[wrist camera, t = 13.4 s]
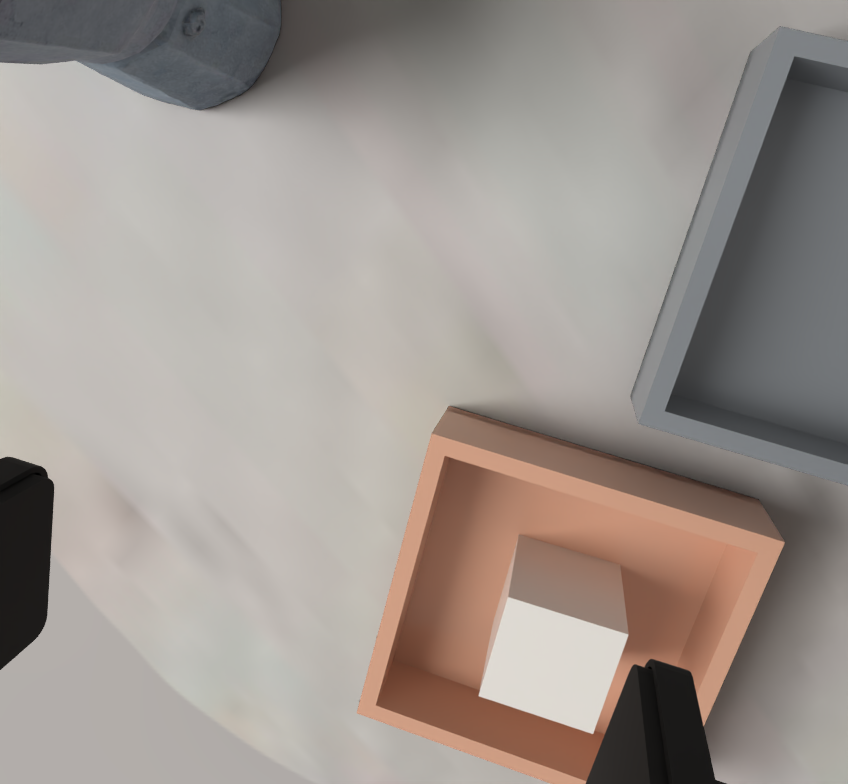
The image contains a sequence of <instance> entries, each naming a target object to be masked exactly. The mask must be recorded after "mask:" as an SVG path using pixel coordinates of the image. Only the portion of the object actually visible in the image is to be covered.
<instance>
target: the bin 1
mask: <svg viewBox="0 0 848 784" xmlns="http://www.w3.org/2000/svg"><path fill="white" fill-rule="evenodd" d="M519 535H523V536H526V537H529V538H533V539H536V540H539V541H543V542H546V543H549V544H553V545H556V546H559V547H563V548H566V549H569V550H573V551H576V552H579V553H583V554H586V555H589V556H593V557H596V558H599V559H603V560H606V561H609V562H613V563H616V564H619V565H620V567H621V576H622V584H623V592H624V600H625V608H626V617H627V625H628V633H629V635H628V638H627V641H626V644H625V646H624V649H623V652H622V655H621V658H620V660H619V663H618V666H617V669H616V671H615V674H614V677H613V680H612V683H611V685H610V688H609V691H608V694H607V696H606V699H605V702H604V705H603V708H602V710H601V713H600V716H599V719H598V722H597V724H596V727H595V730H594V733H593V734H591V733H588V732H585V731H582V730H579V729H576V728H573V727H570V726H567V725H564V724H561V723H558V722H555V721H552V720H549V719H546V718H543V717H540V716H537V715H534V714H531V713H528V712H525V711H522V710H519V709H516V708H513V707H510V706H507V705H504V704H501V703H498V702H495V701H492V700H489V699H486V698H483V697H480V696H479V691H480V686H481V681H482V676H483V671H484V666H485V661H486V656H487V651H488V646H489V641H490V635H491V630H492V625H493V620H494V617H495V614H496V610H497V607H498V604H499V600H500V597H501V593H502V590H503V587H504V583H505V580H506V576H507V573H508V570H509V566H510V563H511V559H512V556H513V553H514V549H515V546H516V542H517V539H518V536H519ZM784 544H785V541H784V540H783V538H782V536H781V535H780V533H779V532H778V530H777V528H776V527H775V525H774V523H773V522H772V520H771V519H770V517H769V515H768V514H767V512H766V510H765V509H764V507H763V506H762V504H761V502H760V501H759V499H755V498H752V497H749V496H745V495H742V494H739V493H736V492H732V491H729V490H726V489H722V488H719V487H716V486H712V485H709V484H706V483H702V482H699V481H696V480H693V479H689V478H686V477H683V476H679V475H676V474H673V473H669V472H666V471H663V470H659V469H656V468H653V467H649V466H646V465H643V464H640V463H636V462H633V461H630V460H626V459H623V458H620V457H616V456H613V455H610V454H606V453H603V452H600V451H597V450H593V449H590V448H587V447H583V446H580V445H577V444H573V443H570V442H567V441H563V440H560V439H557V438H553V437H550V436H547V435H544V434H540V433H537V432H534V431H530V430H527V429H524V428H520V427H517V426H514V425H510V424H507V423H504V422H501V421H497V420H494V419H491V418H487V417H484V416H481V415H477V414H474V413H471V412H467V411H464V410H461V409H457V408H454V407H451V406H449V407H448V408H447V410H446V411H445V413H444V415H443V416H442V418H441V419H440V421H439V423H438V424H437V426H436V427H435V429H434V431H433V432H432V434H431V438H430V442H429V445H428V449H427V453H426V456H425V460H424V464H423V468H422V471H421V475H420V479H419V483H418V486H417V490H416V494H415V497H414V501H413V505H412V509H411V512H410V516H409V520H408V524H407V527H406V531H405V535H404V538H403V542H402V546H401V550H400V553H399V557H398V561H397V565H396V568H395V572H394V576H393V579H392V583H391V587H390V591H389V594H388V598H387V602H386V606H385V609H384V613H383V617H382V620H381V624H380V628H379V632H378V635H377V639H376V643H375V647H374V650H373V654H372V658H371V661H370V665H369V669H368V673H367V676H366V680H365V684H364V688H363V691H362V695H361V699H360V702H359V706H358V710H357V713H358V714H361V715H363V716H366V717H369V718H372V719H374V720H377V721H380V722H383V723H385V724H388V725H391V726H394V727H396V728H399V729H402V730H405V731H407V732H410V733H413V734H416V735H419V736H421V737H424V738H427V739H430V740H432V741H435V742H438V743H441V744H443V745H446V746H449V747H452V748H454V749H457V750H460V751H463V752H465V753H468V754H471V755H474V756H476V757H479V758H482V759H485V760H487V761H490V762H493V763H496V764H499V765H501V766H504V767H507V768H510V769H512V770H515V771H518V772H521V773H523V774H526V775H529V776H532V777H534V778H537V779H540V780H543V781H545V782H548V783H551V784H586V781H587V779H588V776H589V774H590V771H591V768H592V766H593V763H594V761H595V758H596V756H597V753H598V750H599V748H600V745H601V743H602V740H603V738H604V735H605V733H606V730H607V727H608V725H609V722H610V720H611V717H612V715H613V712H614V710H615V707H616V704H617V702H618V699H619V697H620V694H621V692H622V689H623V686H624V684H625V681H626V679H627V676H628V674H629V671H630V669H631V667H632V666H633V665H634V664H636V665H639V666H642V667H645V665H646V663H647V662H648V660H650V659H654V660H657V661H661V662H664V663H667V664H670V665H673V666H677V667H680V668H683V669H686V670H689V671H690V672H691V674H692V676H693V680H694V685H695V689H696V694H697V699H698V703H699V708H700V712H701V717H702V722H703V726H704V725H705V722H706V720H707V718H708V716H709V713H710V711H711V709H712V706H713V704H714V702H715V700H716V697H717V695H718V693H719V691H720V688H721V686H722V684H723V682H724V679H725V677H726V675H727V673H728V670H729V668H730V666H731V664H732V661H733V659H734V657H735V654H736V652H737V650H738V648H739V645H740V643H741V641H742V639H743V636H744V634H745V632H746V630H747V627H748V625H749V623H750V621H751V618H752V616H753V614H754V611H755V609H756V607H757V605H758V602H759V600H760V598H761V596H762V593H763V591H764V589H765V587H766V584H767V582H768V580H769V578H770V575H771V573H772V571H773V568H774V566H775V564H776V562H777V559H778V557H779V555H780V553H781V550H782V548H783V546H784Z"/></svg>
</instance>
